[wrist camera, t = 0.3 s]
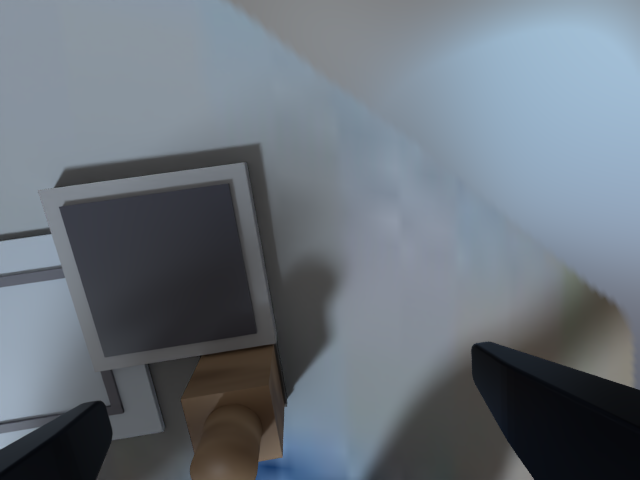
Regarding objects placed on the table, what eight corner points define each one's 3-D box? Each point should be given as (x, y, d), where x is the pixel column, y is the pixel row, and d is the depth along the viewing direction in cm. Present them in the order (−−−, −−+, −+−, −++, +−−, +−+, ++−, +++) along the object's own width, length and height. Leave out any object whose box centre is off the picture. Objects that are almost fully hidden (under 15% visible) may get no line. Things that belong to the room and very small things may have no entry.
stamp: (287, 398, 24) (284, 502, 16) (217, 410, 23) (182, 521, 16) (275, 334, 23) (267, 416, 15) (202, 346, 22) (158, 435, 15)
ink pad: (277, 334, 22) (275, 345, 21) (105, 361, 22) (92, 375, 21) (246, 162, 20) (243, 162, 19) (52, 188, 20) (33, 190, 18)
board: (165, 427, 23) (161, 434, 23) (-50, 463, 23) (-59, 471, 22) (109, 225, 20) (103, 227, 20) (-142, 260, 20) (-155, 263, 19)
